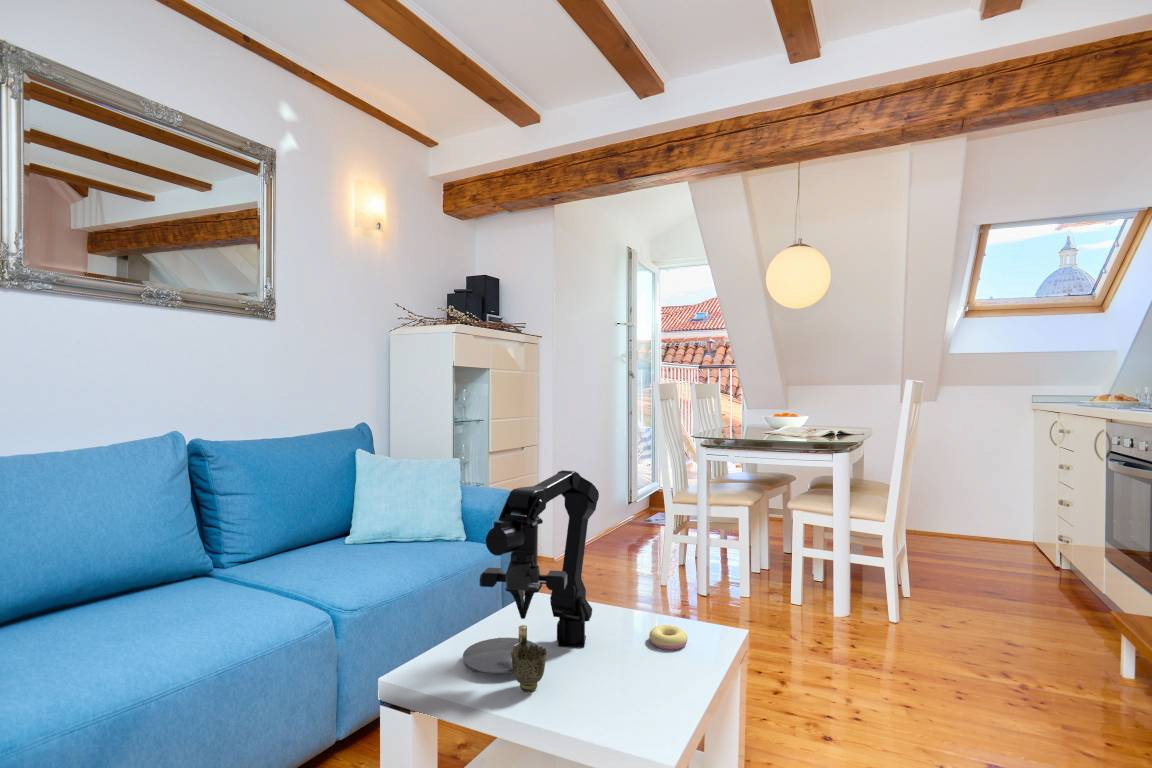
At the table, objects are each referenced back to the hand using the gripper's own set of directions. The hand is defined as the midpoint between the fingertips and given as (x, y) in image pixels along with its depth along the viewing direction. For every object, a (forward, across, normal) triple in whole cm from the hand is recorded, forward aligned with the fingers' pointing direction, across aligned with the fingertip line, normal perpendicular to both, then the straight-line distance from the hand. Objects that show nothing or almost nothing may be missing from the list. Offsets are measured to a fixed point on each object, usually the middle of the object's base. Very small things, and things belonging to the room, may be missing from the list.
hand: (523, 618), depth 132 cm
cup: (+13, +2, -6) cm, 14 cm away
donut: (+12, +33, +22) cm, 41 cm away
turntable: (+11, -6, +6) cm, 14 cm away
